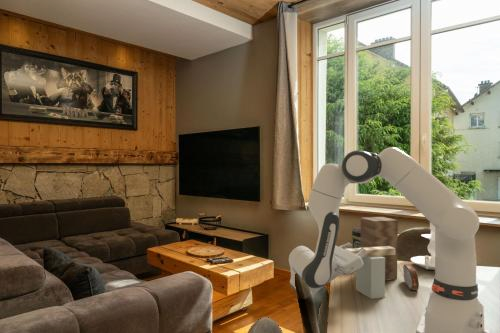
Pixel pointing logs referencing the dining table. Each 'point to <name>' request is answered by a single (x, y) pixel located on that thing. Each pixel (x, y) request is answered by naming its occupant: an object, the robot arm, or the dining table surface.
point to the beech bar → (374, 251)
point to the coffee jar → (356, 237)
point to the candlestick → (427, 260)
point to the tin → (410, 277)
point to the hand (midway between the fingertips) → (357, 246)
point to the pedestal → (371, 277)
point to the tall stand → (381, 239)
